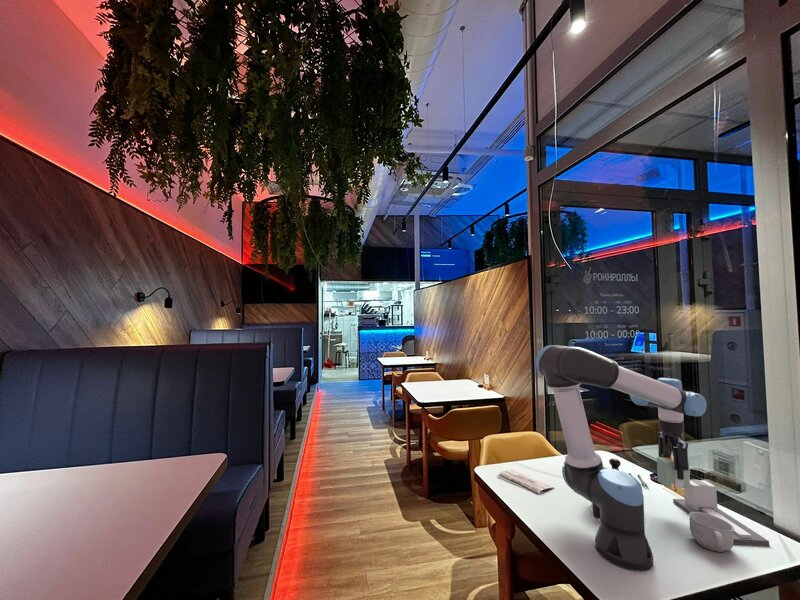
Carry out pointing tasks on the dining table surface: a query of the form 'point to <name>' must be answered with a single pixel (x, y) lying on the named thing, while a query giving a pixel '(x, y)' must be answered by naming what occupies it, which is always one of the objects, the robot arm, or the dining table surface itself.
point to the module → (670, 472)
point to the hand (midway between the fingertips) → (673, 484)
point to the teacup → (711, 531)
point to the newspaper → (524, 481)
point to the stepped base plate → (716, 511)
